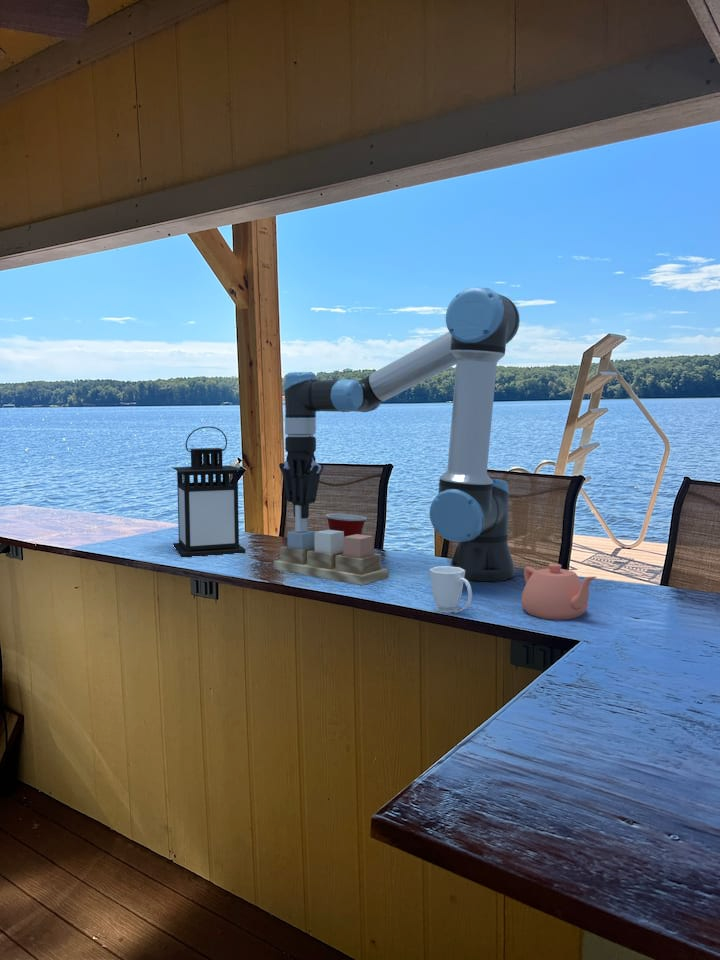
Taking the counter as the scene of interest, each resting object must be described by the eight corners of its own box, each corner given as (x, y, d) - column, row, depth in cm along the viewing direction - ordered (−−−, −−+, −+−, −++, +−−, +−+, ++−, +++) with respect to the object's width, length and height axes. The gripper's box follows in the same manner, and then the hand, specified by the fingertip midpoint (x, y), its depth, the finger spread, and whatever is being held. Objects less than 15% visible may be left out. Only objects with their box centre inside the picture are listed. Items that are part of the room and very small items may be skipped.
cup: (447, 603, 149) (447, 564, 148) (483, 614, 141) (484, 572, 140) (421, 609, 145) (421, 568, 144) (457, 620, 137) (457, 577, 136)
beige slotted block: (388, 577, 173) (388, 554, 172) (362, 585, 165) (362, 561, 165) (301, 562, 190) (300, 541, 190) (273, 569, 183) (273, 547, 182)
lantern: (232, 543, 220) (230, 425, 216) (245, 553, 204) (243, 426, 200) (173, 547, 213) (170, 426, 210) (181, 557, 197) (178, 427, 194)
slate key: (316, 555, 183) (315, 531, 183) (302, 558, 180) (302, 534, 179) (301, 553, 187) (301, 529, 186) (287, 556, 183) (287, 532, 182)
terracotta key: (373, 561, 172) (373, 536, 172) (360, 565, 168) (360, 539, 168) (356, 559, 175) (356, 534, 175) (343, 562, 171) (343, 536, 171)
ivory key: (343, 556, 178) (343, 531, 177) (330, 559, 174) (330, 534, 173) (328, 553, 181) (328, 529, 180) (314, 556, 177) (314, 532, 176)
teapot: (545, 599, 153) (546, 554, 152) (616, 620, 137) (617, 569, 136) (501, 607, 146) (502, 560, 145) (570, 630, 131) (572, 577, 130)
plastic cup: (372, 562, 190) (372, 516, 189) (331, 565, 187) (331, 518, 186) (360, 555, 200) (360, 511, 199) (321, 557, 198) (321, 512, 196)
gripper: (330, 436, 179) (331, 531, 181) (291, 434, 187) (292, 526, 190) (309, 436, 173) (310, 535, 176) (270, 435, 182) (271, 530, 184)
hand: (301, 530), depth 183 cm, fingers closed
